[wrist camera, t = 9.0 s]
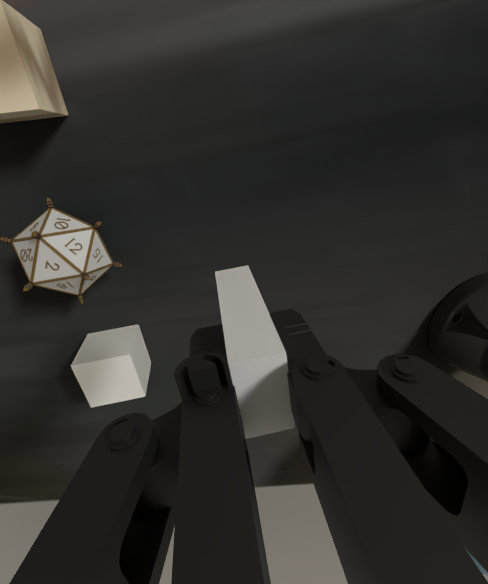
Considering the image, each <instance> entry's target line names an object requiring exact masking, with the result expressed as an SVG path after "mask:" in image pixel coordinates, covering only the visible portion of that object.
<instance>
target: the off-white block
mask: <svg viewBox="0 0 488 584" xmlns="http://www.w3.org/2000/svg"><path fill="white" fill-rule="evenodd" d="M150 367H151V361H150V358H149V355H148V352H147V349H146V346H145V343H144V340H143V337H142V334H141V331H140V328H139V325H133V326H127V327H122V328H117V329H111V330H106V331H101V332H95V333H90V334H87V336H86V338H85V340H84V342H83V344H82V346H81V347H80V349H79V351H78V353H77V355H76V357H75V359H74V360H73V362H72V364H71V368H72V370H73V372H74V374H75V376H76V378H77V380H78V382H79V384H80V386H81V388H82V390H83V392H84V394H85V396H86V398H87V400H88V403H89V405H90V407H91V408H92V407H97V406H101V405H106V404H111V403H116V402H121V401H125V400H130V399H135V398H140V397H145V395H146V390H147V384H148V378H149V373H150Z"/></svg>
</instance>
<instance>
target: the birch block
mask: <svg viewBox="0 0 488 584" xmlns="http://www.w3.org/2000/svg"><path fill="white" fill-rule="evenodd" d="M60 116H68V113H67V109H66V106H65V103H64V100H63V97H62V94H61V91H60V88H59V85H58V82H57V79H56V76H55V73H54V70H53V67H52V64H51V60H50V57H49V54H48V51H47V48H46V45H45V42H44V39H43V36H42V33H41V30H40V29H39V28H38V27H37V26H35V25H34V24H33V23H32V22H30V21H29V20H28V19H26V18H25V17H24V16H22V15H21V14H20V13H18V12H17V11H16V10H14V9H13V8H12V7H11V6H9V5H8V4H7V3H5V2H4V1H3V0H0V123H9V122H18V121H26V120H35V119H43V118H52V117H60Z"/></svg>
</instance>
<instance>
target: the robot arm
mask: <svg viewBox="0 0 488 584" xmlns="http://www.w3.org/2000/svg"><path fill="white" fill-rule="evenodd" d="M215 275H216V282H217V289H218V297H219V304H220V311H221V318H222V324H220V325H216V326H211V327H206V328H201V329H197V330H196V331H195V333H194V334H193V336H192V337H191V341H190V349H191V350H190V357H188V358H187V359H185V360H184V361H182V362H181V363H180V365H179V366H178V367H177V368H176V371H175V373H174V376H175V379H176V382H177V385H178V388H179V392H180V395H181V398H182V402H181V403H180V404H179V405H178V406H177V407H176V408H174V409H173V410H171V411H170V412H168V413H166V414H164V415H162V416H160V417H158V418H156V419H154V420H151V418H149V417H148V416H147V415H145V414H140V413H133V414H127V415H124V416H122V417H120V418H118V419H116V420H114V421H113V422H112V423H110V424H109V425H108V426H106V427H105V428H104V430H103V431H102V432H101V433H100V435H99V436H98V437H97V439H96V440H95V442H94V444H93V445H92V447H91V449H90V450H89V452H88V454H87V455H86V457H85V459H84V460H83V462H82V464H81V465H80V467H79V469H78V470H77V472H76V474H75V475H74V477H73V479H72V480H71V482H70V484H69V485H68V487H67V489H66V490H65V492H64V494H63V495H62V497H61V499H60V500H59V502H58V504H57V505H56V507H55V509H54V511H53V512H52V514H51V516H50V517H49V519H48V521H47V522H46V524H45V525H44V527H43V529H42V530H41V532H40V534H39V535H38V537H37V539H36V540H35V542H34V544H33V545H32V547H31V549H30V551H29V552H28V554H27V556H26V557H25V559H24V561H23V562H22V564H21V566H20V567H19V569H18V571H17V572H16V574H15V575H14V577H13V579H12V581H11V582H10V584H159V581H160V578H161V574H162V570H163V566H164V562H165V559H166V555H167V551H168V547H169V544H170V540H171V536H172V532H173V528H174V525H175V533H174V551H173V567H172V584H271V582H270V577H269V571H268V565H267V559H266V553H265V547H264V541H263V535H262V529H261V524H260V518H259V512H258V507H257V500H256V495H255V488H254V483H253V477H252V471H251V465H250V459H249V454H248V450H247V445H246V439H248V438H252V437H257V436H261V435H265V434H270V433H274V432H278V431H283V430H287V429H292V428H295V424H294V420H295V422H296V425H297V428H298V431H299V439H300V448H301V457H302V463H303V462H306V463H307V466H308V469H309V472H310V475H311V477H312V480H313V483H314V486H315V489H316V492H317V495H318V498H319V501H320V504H321V506H322V509H323V512H324V515H325V518H326V521H327V524H328V527H329V530H330V533H331V535H332V538H333V541H334V544H335V547H336V550H337V553H338V556H339V559H340V562H341V564H342V567H343V570H344V573H345V576H346V579H347V582H348V584H488V582H487V580H486V579H485V577H484V576H483V574H485V575H488V399H486V398H485V397H483V396H482V395H480V394H478V393H477V392H475V391H474V390H472V389H471V388H469V387H467V386H466V385H464V384H463V383H461V382H459V381H458V380H456V379H455V378H453V377H451V376H450V375H448V374H447V373H445V372H444V371H442V370H440V369H439V368H437V367H436V366H434V365H432V364H431V363H429V362H427V361H425V360H423V359H421V358H419V357H416V356H411V355H407V354H394V355H390V356H386V357H385V358H383V359H382V360H381V361H380V362H379V364H378V367H377V370H357V369H349V368H345V367H343V365H342V364H341V363H340V362H339V361H338V360H337V359H335V358H333V357H331V356H328V355H326V354H325V352H324V350H323V349H322V347H321V346H320V344H319V342H318V341H317V339H316V338H315V336H314V335H313V333H312V331H310V328H309V327H308V325H307V324H306V322H305V320H304V319H303V317H302V315H301V314H299V313H297V312H296V311H294V310H292V309H288V310H283V311H279V312H274V313H269V312H268V310H267V308H266V305H265V303H264V301H263V299H262V296H261V294H260V292H259V289H258V287H257V285H256V283H255V280H254V278H253V276H252V273H251V271H250V269H249V267H248V265H247V266H242V267H237V268H232V269H227V270H222V271H217V272H215ZM428 341H429V345H430V347H431V349H432V351H433V352H434V353H435V354H436V355H437V356H438V357H440V358H441V359H442V360H443V361H444V362H446V363H447V364H449V365H450V366H452V367H455V368H458V369H460V370H462V371H465V372H467V373H469V374H471V375H474V376H476V377H478V378H481V379H483V380H485V381H488V273H486V274H482V275H479V276H476V277H474V278H472V279H470V280H468V281H466V282H465V283H463V284H461V285H460V286H459V287H457V288H456V289H455V290H453V291H452V292H451V293H450V294H449V295H448V296H447V297H446V298H445V299H444V300H443V302H442V303H441V304H440V305H439V307H438V308H437V310H436V312H435V313H434V315H433V317H432V320H431V322H430V326H429V330H428Z"/></svg>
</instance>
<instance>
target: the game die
mask: <svg viewBox="0 0 488 584" xmlns="http://www.w3.org/2000/svg"><path fill="white" fill-rule="evenodd" d="M46 203H47V206H48V207H49V209H48V210H47V211H45V212H44V213H43V214H42V215H41V216H40V217H38V218H37V219H36V220H35V221H34V222H32V223H31V224H30V225H29V226H28V227H27V228H25V229H24V230H23V231H22V232H21V233H20V234H18V235H17V236H16V237H15V238H14V239H10V238H6V237H4V238H0V240H2V241H3V242H4V243H7V244H8V243H12V245H13V247H14V249H15V251H16V254H17V256H18V258H19V260H20V262H21V265H22V267H23V269H24V271H25V273H26V275H27V278H28V280H29V282H30V283H28V284H26V285H25V286H24V289H23V291H28V290H30V289H31V288H32V286H33V285H34V286H39V287H43V288H47V289H52V290H56V291H60V292H65V293H69V294H73V295H77V296H78V298H77V299H78V301H79V302H80V303H83V300H84V299H83V297H82V295H81V294H82V293H83V292H84V291H85V290H87V289H88V288H89V287H90V286H91V285H92V284H93V283H94V282H95V281H96V280H97V279H98V278H99V277H100V276H102V275H103V274H104V273H105V272H106V271H107V270H108V269H109V268H110V267H111V266H112V265H114V266H115V267H120V266H122V265H121V264H120V263H119V262H113V260H112V258H111V257H110V255H109V253H108V251H107V249H106V247H105V245H104V243H103V241H102V239H101V237H100V235H99V233H98V231H97V228H98V229H99V227H101V222H95V224H93V226H92V225H90V224H88V223H86V222H84V221H82V220H79V219H77V218H75V217H73V216H71V215H68V214H66V213H64V212H62V211H60V210H57V209H55V208H54V207H53V205H54V204H53V201H51V200H50V199H49V198H47V201H46Z"/></svg>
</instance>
